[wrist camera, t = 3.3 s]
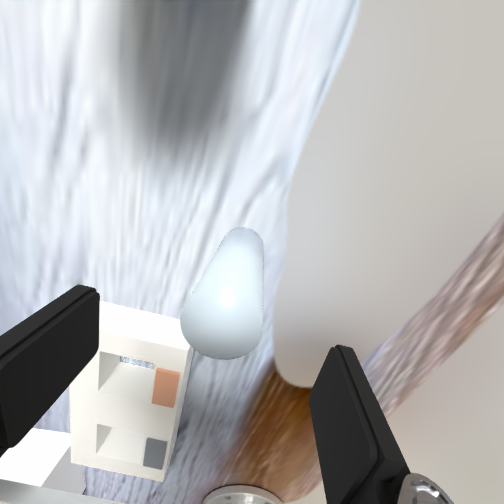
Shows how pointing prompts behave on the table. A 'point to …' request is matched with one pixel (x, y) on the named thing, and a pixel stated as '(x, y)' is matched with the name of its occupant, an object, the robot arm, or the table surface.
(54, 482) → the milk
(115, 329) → the socket block
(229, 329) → the plug
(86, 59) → the table surface
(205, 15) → the table surface
